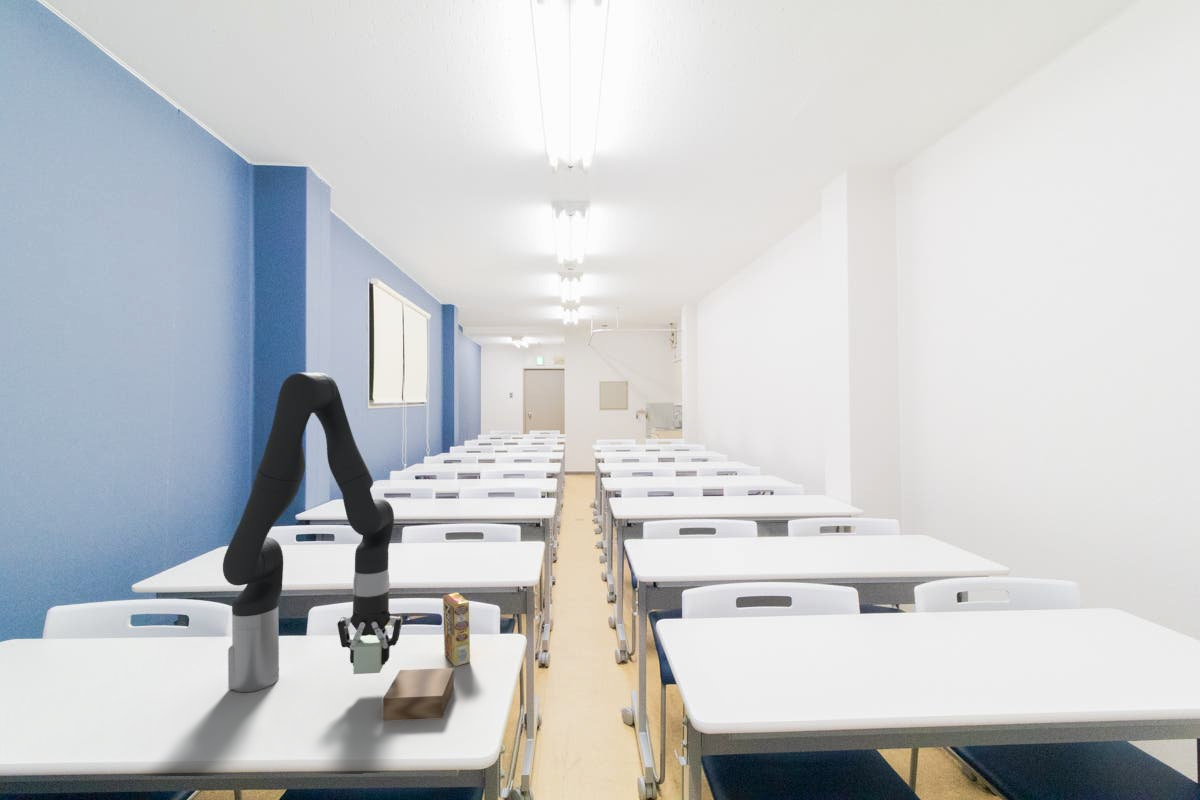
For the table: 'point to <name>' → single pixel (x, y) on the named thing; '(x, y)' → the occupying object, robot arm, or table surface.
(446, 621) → the candy box
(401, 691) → the walnut block
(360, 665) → the sage cube
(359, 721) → the table surface
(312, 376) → the robot arm
